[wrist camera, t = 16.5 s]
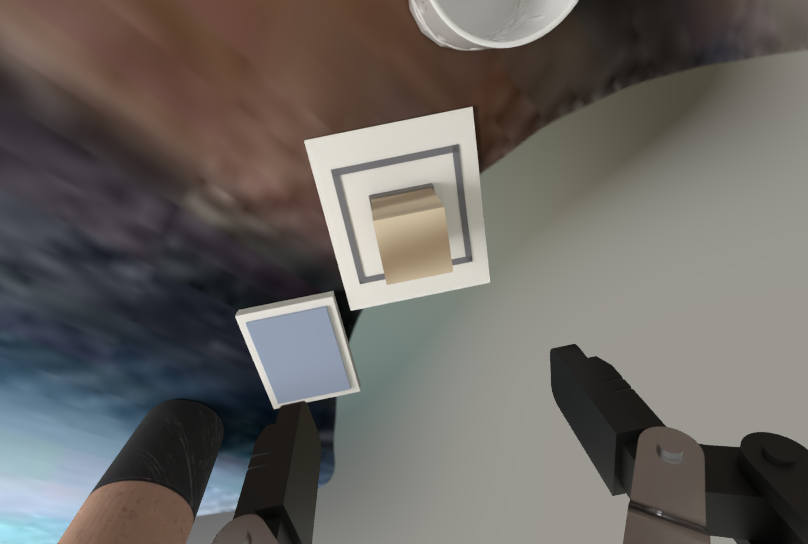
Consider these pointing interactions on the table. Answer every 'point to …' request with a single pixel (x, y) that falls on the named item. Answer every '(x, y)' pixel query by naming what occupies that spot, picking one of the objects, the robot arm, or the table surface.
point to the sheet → (391, 170)
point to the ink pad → (300, 349)
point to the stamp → (411, 233)
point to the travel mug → (153, 480)
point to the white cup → (487, 21)
